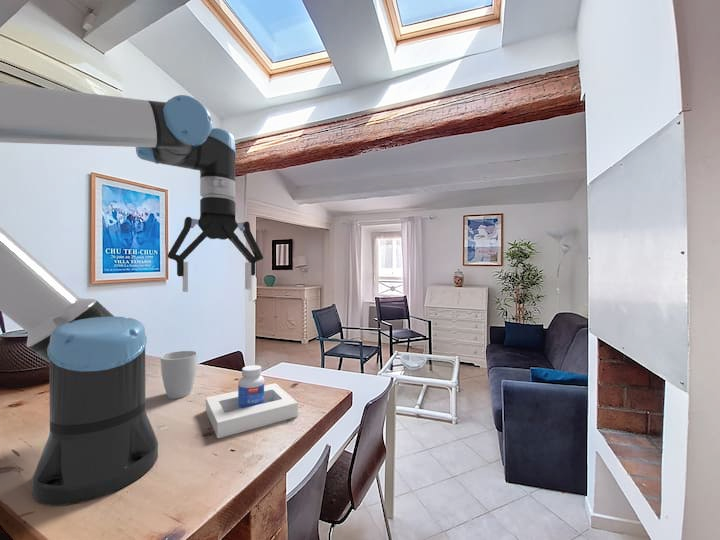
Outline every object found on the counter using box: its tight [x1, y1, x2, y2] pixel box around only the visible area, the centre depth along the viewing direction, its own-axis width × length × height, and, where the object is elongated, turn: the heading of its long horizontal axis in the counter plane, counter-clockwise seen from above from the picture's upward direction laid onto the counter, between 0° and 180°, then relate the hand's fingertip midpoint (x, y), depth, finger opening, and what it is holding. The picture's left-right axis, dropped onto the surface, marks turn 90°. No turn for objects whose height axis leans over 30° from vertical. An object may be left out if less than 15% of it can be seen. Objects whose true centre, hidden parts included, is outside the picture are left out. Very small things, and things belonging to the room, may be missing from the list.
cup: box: [159, 350, 198, 399], centre depth 81 cm, size 8×8×10 cm
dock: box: [205, 383, 299, 439], centre depth 73 cm, size 16×20×3 cm
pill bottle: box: [237, 364, 265, 409], centre depth 70 cm, size 6×5×10 cm
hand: (218, 290), depth 75 cm, fingers open, 13 cm apart
